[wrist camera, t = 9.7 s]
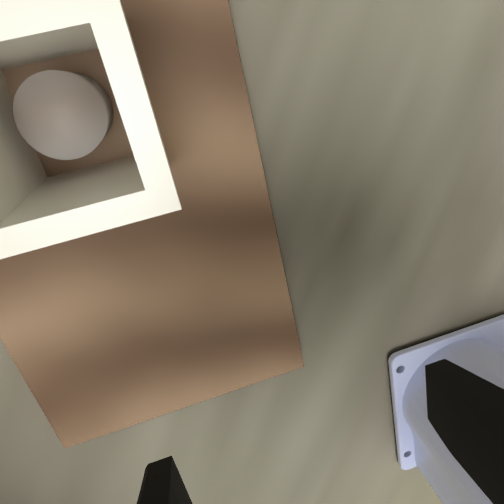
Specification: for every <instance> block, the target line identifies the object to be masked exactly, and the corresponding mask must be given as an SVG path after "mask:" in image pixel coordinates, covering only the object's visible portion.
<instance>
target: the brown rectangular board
mask: <svg viewBox="0 0 504 504" xmlns="http://www.w3.org/2000/svg"><path fill="white" fill-rule="evenodd" d="M120 1H121V4H122V7H123V10H124V13H125V16H126V19H127V23H128V26H129V30H130V33H131V36H132V40H133V43H134V46H135V50H136V53H137V57H138V60H139V63H140V67H141V70H142V73H143V77H144V80H145V83H146V87H147V90H148V94H149V97H150V100H151V104H152V107H153V110H154V114H155V117H156V121H157V124H158V127H159V131H160V134H161V137H162V141H163V144H164V147H165V151H166V154H167V158H168V161H169V164H170V168H171V172H172V175H173V179H174V183H175V186H176V190H177V194H178V197H179V201H180V205H181V208H182V209H181V210H178V211H174V212H171V213H167V214H163V215H160V216H156V217H152V218H149V219H145V220H141V221H138V222H134V223H131V224H127V225H123V226H120V227H116V228H112V229H109V230H105V231H101V232H98V233H94V234H91V235H87V236H83V237H80V238H76V239H72V240H69V241H65V242H62V243H58V244H54V245H51V246H47V247H43V248H40V249H36V250H32V251H29V252H25V253H22V254H18V255H14V256H11V257H7V258H3V259H0V338H1V340H2V342H3V344H4V345H5V347H6V349H7V350H8V352H9V354H10V356H11V357H12V359H13V361H14V362H15V364H16V366H17V368H18V369H19V371H20V373H21V374H22V376H23V378H24V380H25V381H26V383H27V385H28V386H29V388H30V390H31V392H32V393H33V395H34V397H35V398H36V400H37V402H38V404H39V405H40V407H41V409H42V410H43V412H44V414H45V416H46V417H47V419H48V421H49V422H50V424H51V426H52V428H53V429H54V431H55V433H56V434H57V436H58V438H59V440H60V441H61V443H62V445H63V446H64V448H68V447H71V446H73V445H76V444H79V443H82V442H85V441H88V440H91V439H94V438H97V437H100V436H103V435H106V434H108V433H111V432H114V431H117V430H120V429H123V428H126V427H129V426H132V425H135V424H138V423H141V422H143V421H146V420H149V419H152V418H155V417H158V416H161V415H164V414H167V413H170V412H173V411H176V410H178V409H181V408H184V407H187V406H190V405H193V404H196V403H199V402H202V401H205V400H208V399H211V398H214V397H216V396H219V395H222V394H225V393H228V392H231V391H234V390H237V389H240V388H243V387H246V386H249V385H251V384H254V383H257V382H260V381H263V380H266V379H269V378H272V377H275V376H278V375H281V374H284V373H286V372H289V371H292V370H295V369H298V368H301V367H304V363H303V358H302V353H301V348H300V343H299V339H298V334H297V329H296V324H295V319H294V315H293V310H292V305H291V300H290V295H289V291H288V286H287V281H286V276H285V271H284V267H283V262H282V257H281V252H280V247H279V243H278V238H277V233H276V228H275V223H274V219H273V214H272V209H271V204H270V199H269V195H268V190H267V185H266V180H265V175H264V170H263V166H262V161H261V156H260V151H259V146H258V142H257V137H256V132H255V127H254V122H253V118H252V113H251V108H250V103H249V98H248V94H247V89H246V84H245V79H244V74H243V70H242V65H241V60H240V55H239V50H238V46H237V41H236V36H235V31H234V26H233V22H232V17H231V12H230V7H229V2H228V0H120ZM2 72H3V75H4V77H5V79H6V82H7V84H8V86H9V89H10V91H11V93H12V96H13V98H14V102H13V116H14V120H15V123H16V126H17V128H18V130H19V132H20V134H21V135H22V137H23V138H24V139H25V141H26V142H27V143H28V144H29V145H30V146H31V147H33V148H34V149H35V150H36V152H37V154H38V156H39V159H40V161H41V163H42V166H43V168H44V170H45V173H46V175H47V177H50V176H54V175H58V174H62V173H66V172H70V171H74V170H78V169H82V168H86V167H90V166H93V165H97V164H101V163H105V162H109V161H113V160H117V159H121V158H125V157H129V156H133V155H134V154H133V151H132V148H131V145H130V142H129V139H128V136H127V133H126V130H125V127H124V124H123V121H122V118H121V115H120V112H119V109H118V106H117V103H116V100H115V97H114V94H113V91H112V88H111V85H110V82H109V79H108V76H107V73H106V70H105V67H104V64H103V61H102V58H101V55H100V52H99V49H96V50H91V51H87V52H82V53H78V54H73V55H69V56H64V57H60V58H55V59H50V60H46V61H41V62H37V63H32V64H28V65H23V66H19V67H14V68H9V69H5V70H2Z"/></svg>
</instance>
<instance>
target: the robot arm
mask: <svg viewBox="0 0 504 504" xmlns="http://www.w3.org/2000/svg"><path fill="white" fill-rule="evenodd" d="M388 363H389V373H390V383H391V393H392V404H393V414H394V424H395V434H396V444H397V455H398V463H399V465H400V467H401V468H402V469H403V470H408V469H411V468H414V467H416V466H417V467H418V469H419V470H420V471H421V473H422V474H423V476H424V477H425V479H426V480H427V481H428V483H429V484H430V486H431V487H432V489H433V490H434V491H435V493H436V494H437V496H438V497H439V499H440V500H441V501H442V503H443V504H504V314H503V315H501V316H498V317H495V318H492V319H489V320H486V321H483V322H480V323H478V324H475V325H472V326H469V327H466V328H463V329H460V330H458V331H455V332H452V333H449V334H446V335H443V336H440V337H437V338H435V339H432V340H429V341H426V342H423V343H420V344H417V345H414V346H412V347H409V348H406V349H403V350H400V351H397V352H395V353H393V354H392V355H391V356H390V358H389V361H388ZM399 366H400V367H399ZM398 367H399V368H398ZM137 504H192V502H191V499H190V497H189V495H188V492H187V490H186V488H185V486H184V483H183V481H182V479H181V476H180V474H179V472H178V469H177V467H176V465H175V462H174V460H173V458H172V456H170V457H167V458H164V459H161V460H158V461H155V462H153V463H150V464H148V465H147V467H146V469H145V473H144V477H143V482H142V486H141V490H140V494H139V497H138V501H137Z"/></svg>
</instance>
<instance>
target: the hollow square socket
mask: <svg viewBox="0 0 504 504" xmlns="http://www.w3.org/2000/svg"><path fill="white" fill-rule="evenodd" d="M96 49H99V52H100V55H101V58H102V61H103V64H104V67H105V70H106V73H107V76H108V79H109V82H110V85H111V88H112V91H113V94H114V97H115V100H116V103H117V106H118V109H119V112H120V115H121V118H122V121H123V124H124V127H125V130H126V133H127V136H128V139H129V142H130V145H131V148H132V151H133V154H134V155H133V156H129V157H125V158H121V159H117V160H113V161H109V162H105V163H101V164H97V165H93V166H90V167H86V168H82V169H78V170H74V171H70V172H66V173H62V174H58V175H54V176H50V177H47V175H46V173H45V170H44V168H43V166H42V163H41V161H40V159H39V156H38V154H37V152H36V150H35V149H34V148H33V147H31V146H30V145H29V144H28V143H27V142H26V141H25V139H24V138H23V137H22V135H21V134H20V132H19V130H18V128H17V126H16V123H15V120H14V116H13V102H14V98H13V96H12V93H11V91H10V89H9V86H8V84H7V82H6V79H5V77H4V75H3V72H2V70H5V69H9V68H14V67H19V66H23V65H28V64H32V63H37V62H41V61H46V60H50V59H55V58H60V57H64V56H69V55H73V54H78V53H82V52H87V51H91V50H96ZM181 209H182V208H181V205H180V201H179V197H178V194H177V190H176V186H175V183H174V179H173V175H172V172H171V168H170V164H169V161H168V158H167V154H166V151H165V147H164V144H163V141H162V137H161V134H160V131H159V127H158V124H157V121H156V117H155V114H154V110H153V107H152V104H151V100H150V97H149V94H148V90H147V87H146V83H145V80H144V77H143V73H142V70H141V67H140V63H139V60H138V57H137V53H136V50H135V46H134V43H133V40H132V36H131V33H130V30H129V26H128V23H127V19H126V16H125V13H124V10H123V7H122V4H121V1H120V0H0V259H3V258H7V257H11V256H14V255H18V254H22V253H25V252H29V251H32V250H36V249H40V248H43V247H47V246H51V245H54V244H58V243H62V242H65V241H69V240H72V239H76V238H80V237H83V236H87V235H91V234H94V233H98V232H101V231H105V230H109V229H112V228H116V227H120V226H123V225H127V224H131V223H134V222H138V221H141V220H145V219H149V218H152V217H156V216H160V215H163V214H167V213H171V212H174V211H178V210H181Z"/></svg>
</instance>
